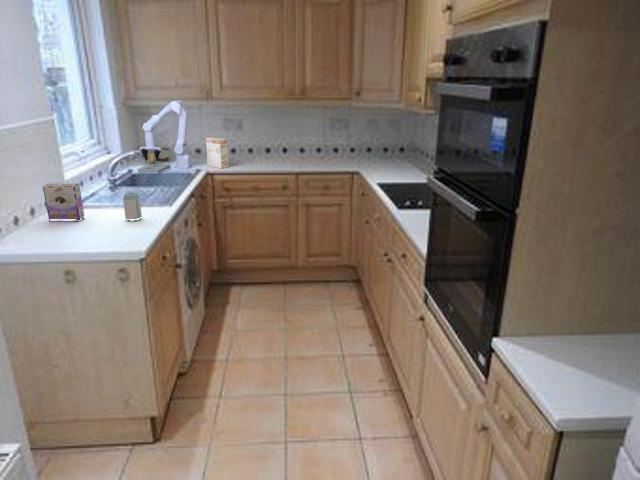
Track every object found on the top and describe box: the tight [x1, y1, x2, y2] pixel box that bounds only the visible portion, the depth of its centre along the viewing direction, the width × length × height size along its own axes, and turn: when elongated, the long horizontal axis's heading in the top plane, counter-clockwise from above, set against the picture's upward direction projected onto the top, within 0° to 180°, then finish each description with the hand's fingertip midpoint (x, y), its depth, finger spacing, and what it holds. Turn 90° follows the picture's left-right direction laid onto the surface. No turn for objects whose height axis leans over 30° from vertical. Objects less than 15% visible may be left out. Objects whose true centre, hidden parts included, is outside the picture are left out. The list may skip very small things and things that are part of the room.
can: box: [122, 192, 143, 220], centre depth 219 cm, size 7×7×12 cm
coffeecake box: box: [205, 136, 229, 169], centre depth 335 cm, size 15×7×20 cm, turn 51°
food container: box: [152, 146, 171, 163], centre depth 353 cm, size 12×6×10 cm, turn 84°
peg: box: [147, 152, 156, 165], centre depth 335 cm, size 4×4×9 cm
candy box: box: [42, 182, 85, 220], centre depth 217 cm, size 14×6×16 cm, turn 92°
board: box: [137, 163, 171, 175], centre depth 322 cm, size 14×18×2 cm
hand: (151, 160), depth 335 cm, fingers open, 7 cm apart
